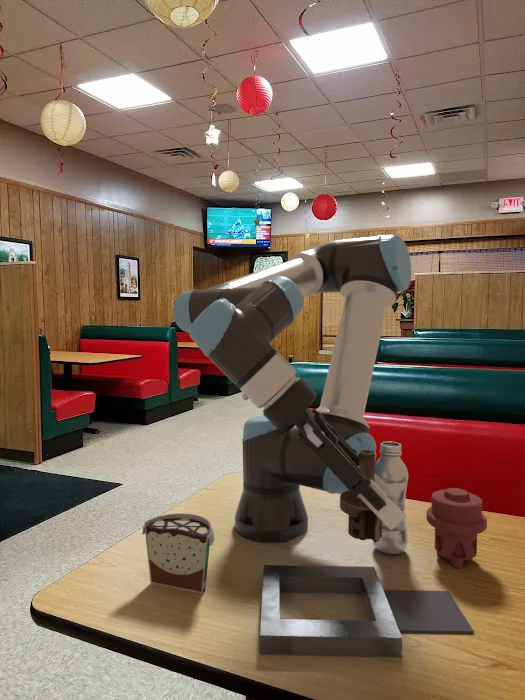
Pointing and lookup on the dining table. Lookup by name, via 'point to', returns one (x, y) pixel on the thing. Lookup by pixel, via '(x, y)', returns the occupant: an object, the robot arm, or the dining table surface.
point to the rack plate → (327, 634)
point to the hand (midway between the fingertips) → (392, 510)
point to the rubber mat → (426, 612)
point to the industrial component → (362, 505)
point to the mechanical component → (456, 524)
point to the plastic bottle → (396, 479)
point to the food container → (178, 550)
